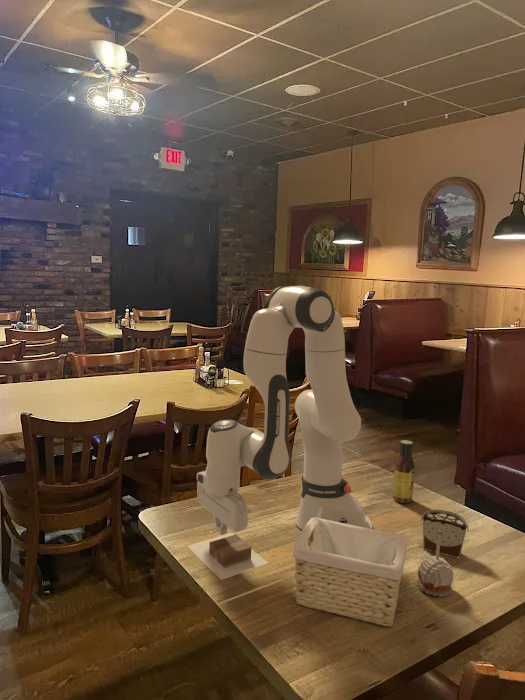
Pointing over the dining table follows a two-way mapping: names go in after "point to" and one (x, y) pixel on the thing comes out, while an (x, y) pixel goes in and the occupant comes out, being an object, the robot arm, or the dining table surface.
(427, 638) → the dining table surface
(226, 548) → the walnut block
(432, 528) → the food container
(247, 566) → the white rectangular sheet
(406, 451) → the sauce bottle
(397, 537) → the storage basket
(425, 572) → the candy apple
